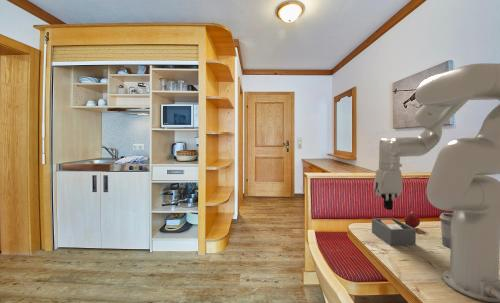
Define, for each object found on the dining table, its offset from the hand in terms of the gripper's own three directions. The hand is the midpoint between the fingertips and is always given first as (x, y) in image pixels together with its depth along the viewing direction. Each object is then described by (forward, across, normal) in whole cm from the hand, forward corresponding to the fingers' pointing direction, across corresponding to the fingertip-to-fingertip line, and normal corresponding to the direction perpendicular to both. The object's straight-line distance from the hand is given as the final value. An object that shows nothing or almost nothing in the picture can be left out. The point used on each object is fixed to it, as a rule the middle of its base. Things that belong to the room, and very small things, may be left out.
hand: (387, 208), depth 95 cm
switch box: (+12, 0, +3) cm, 12 cm away
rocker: (+7, 0, +3) cm, 7 cm away
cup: (+12, -18, +11) cm, 24 cm away
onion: (+12, -16, -6) cm, 20 cm away
